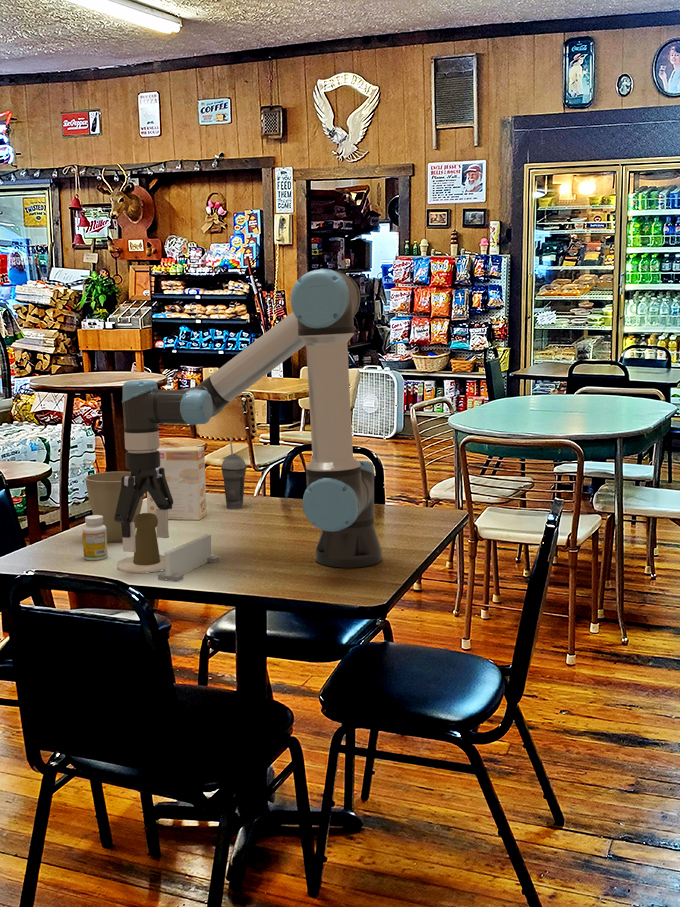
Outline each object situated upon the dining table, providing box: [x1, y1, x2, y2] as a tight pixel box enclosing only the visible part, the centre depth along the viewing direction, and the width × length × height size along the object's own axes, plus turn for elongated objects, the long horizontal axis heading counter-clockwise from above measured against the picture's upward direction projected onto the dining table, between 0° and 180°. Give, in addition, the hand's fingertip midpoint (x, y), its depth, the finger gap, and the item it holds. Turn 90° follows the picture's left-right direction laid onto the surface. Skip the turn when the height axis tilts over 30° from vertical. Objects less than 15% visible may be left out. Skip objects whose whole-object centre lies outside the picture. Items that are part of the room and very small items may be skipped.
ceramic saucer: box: [116, 554, 165, 574], centre depth 216 cm, size 13×13×1 cm
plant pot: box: [84, 471, 145, 543], centre depth 241 cm, size 15×15×16 cm
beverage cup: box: [220, 438, 247, 510], centre depth 278 cm, size 7×7×20 cm
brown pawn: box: [133, 512, 161, 565], centre depth 215 cm, size 6×6×11 cm
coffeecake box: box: [146, 446, 207, 521], centre depth 265 cm, size 15×7×20 cm, turn 82°
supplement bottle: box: [82, 514, 109, 561], centre depth 223 cm, size 5×5×10 cm
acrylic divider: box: [157, 533, 220, 582], centre depth 212 cm, size 5×18×6 cm, turn 159°
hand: (146, 544), depth 216 cm, fingers open, 13 cm apart
